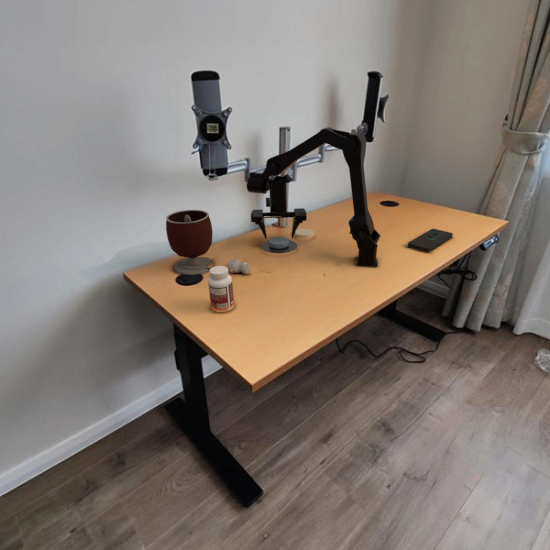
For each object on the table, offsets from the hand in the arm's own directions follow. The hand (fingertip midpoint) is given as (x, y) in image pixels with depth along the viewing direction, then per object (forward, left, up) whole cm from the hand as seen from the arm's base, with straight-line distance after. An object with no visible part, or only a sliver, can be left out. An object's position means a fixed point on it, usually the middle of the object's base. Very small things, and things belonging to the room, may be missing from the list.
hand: (279, 238), depth 129 cm
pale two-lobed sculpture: (-20, +10, -4) cm, 23 cm away
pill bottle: (-40, +9, -4) cm, 41 cm away
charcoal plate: (0, 0, -4) cm, 4 cm away
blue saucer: (0, 0, -3) cm, 3 cm away
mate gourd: (-18, +25, -4) cm, 31 cm away
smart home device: (+12, -54, -4) cm, 55 cm away
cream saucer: (+12, -8, -4) cm, 15 cm away
